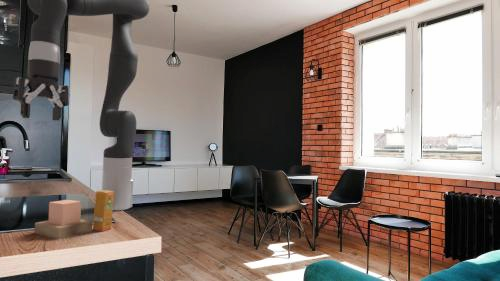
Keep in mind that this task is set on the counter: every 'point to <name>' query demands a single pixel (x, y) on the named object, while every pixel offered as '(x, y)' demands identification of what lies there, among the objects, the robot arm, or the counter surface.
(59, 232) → the tan flat block
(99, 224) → the supplement box
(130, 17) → the robot arm
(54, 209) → the terracotta block
